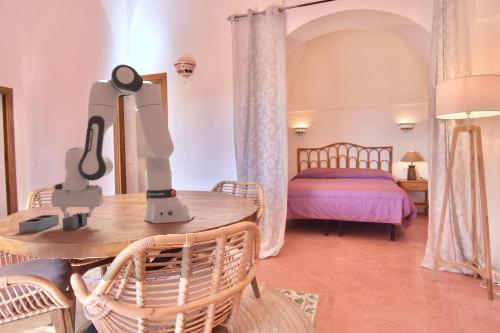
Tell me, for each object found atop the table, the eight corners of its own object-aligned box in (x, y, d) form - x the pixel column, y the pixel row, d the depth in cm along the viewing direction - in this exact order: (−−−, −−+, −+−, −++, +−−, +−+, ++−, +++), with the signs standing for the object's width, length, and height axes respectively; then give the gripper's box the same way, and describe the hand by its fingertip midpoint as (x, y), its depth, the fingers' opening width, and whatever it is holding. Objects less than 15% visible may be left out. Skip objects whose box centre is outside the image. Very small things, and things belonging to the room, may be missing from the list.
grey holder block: (42, 223, 129) (42, 214, 129) (59, 223, 130) (58, 214, 129) (19, 232, 115) (18, 222, 115) (37, 232, 116) (37, 222, 115)
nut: (87, 224, 129) (86, 211, 128) (82, 226, 125) (81, 213, 124) (77, 224, 128) (77, 211, 128) (72, 226, 124) (72, 213, 124)
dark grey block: (78, 228, 122) (77, 214, 121) (73, 230, 118) (72, 217, 117) (68, 228, 121) (68, 215, 121) (62, 230, 117) (62, 217, 117)
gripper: (105, 184, 129) (105, 215, 129) (57, 184, 128) (58, 215, 128) (98, 186, 123) (99, 218, 123) (48, 185, 121) (49, 218, 122)
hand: (77, 216), depth 126 cm, fingers open, 8 cm apart
